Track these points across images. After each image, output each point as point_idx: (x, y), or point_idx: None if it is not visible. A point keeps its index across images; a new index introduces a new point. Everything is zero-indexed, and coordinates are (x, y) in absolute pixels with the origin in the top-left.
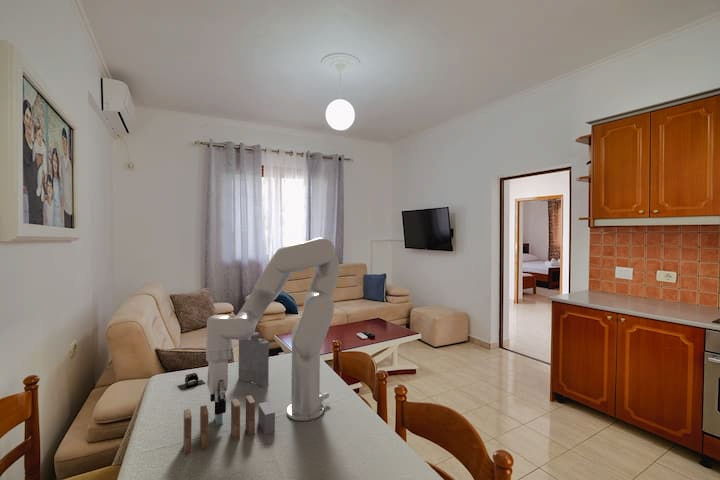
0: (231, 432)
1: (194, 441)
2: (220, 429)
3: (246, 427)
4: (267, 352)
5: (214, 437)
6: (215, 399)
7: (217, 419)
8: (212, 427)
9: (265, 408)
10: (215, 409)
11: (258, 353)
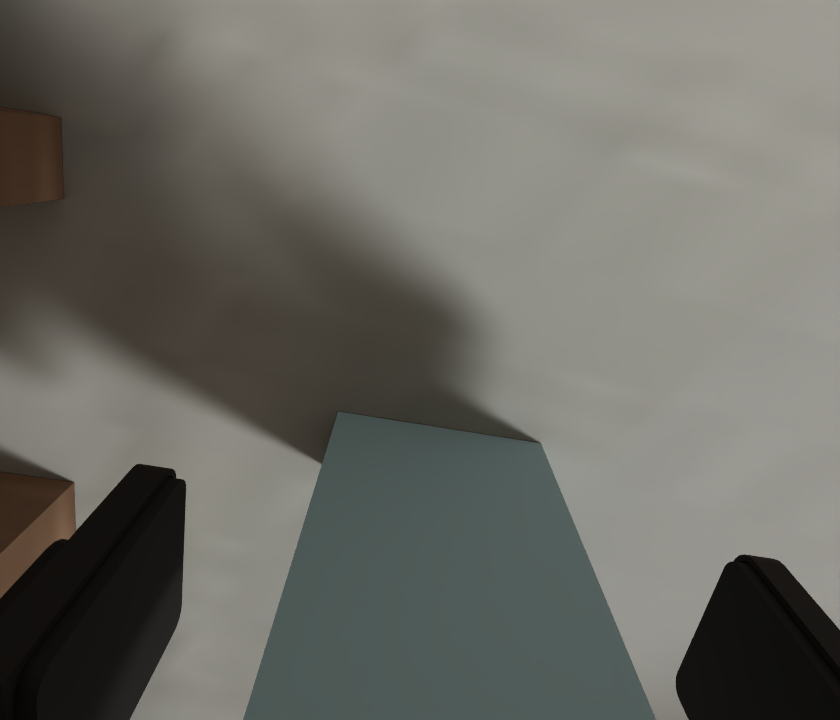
0: (33, 484)
1: (79, 41)
2: (209, 412)
3: None
4: None
5: (51, 298)
6: (541, 665)
7: (328, 453)
8: (319, 352)
9: None
10: (79, 531)
11: None
